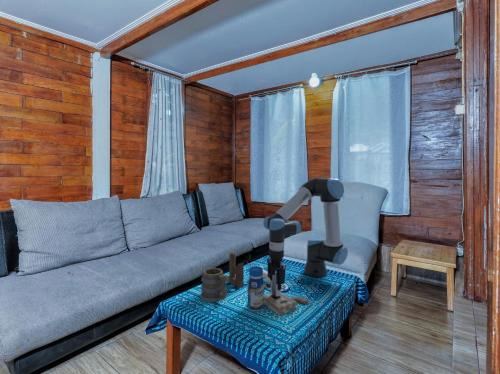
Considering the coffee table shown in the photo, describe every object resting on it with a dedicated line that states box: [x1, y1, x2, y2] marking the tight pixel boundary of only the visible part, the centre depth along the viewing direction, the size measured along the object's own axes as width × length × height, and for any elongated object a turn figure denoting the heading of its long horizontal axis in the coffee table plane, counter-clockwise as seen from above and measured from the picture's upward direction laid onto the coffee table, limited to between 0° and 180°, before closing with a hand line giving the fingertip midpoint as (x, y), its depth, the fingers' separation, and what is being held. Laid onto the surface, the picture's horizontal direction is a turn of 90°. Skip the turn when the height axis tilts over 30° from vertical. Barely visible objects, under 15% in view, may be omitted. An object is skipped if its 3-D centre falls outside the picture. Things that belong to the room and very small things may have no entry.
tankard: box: [199, 267, 229, 303], centre depth 144 cm, size 20×13×15 cm, turn 40°
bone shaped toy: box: [258, 265, 270, 285], centre depth 169 cm, size 15×9×8 cm, turn 41°
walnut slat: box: [290, 295, 310, 305], centre depth 143 cm, size 9×3×2 cm, turn 65°
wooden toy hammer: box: [227, 252, 245, 288], centre depth 163 cm, size 4×11×18 cm, turn 42°
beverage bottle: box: [246, 266, 265, 312], centre depth 136 cm, size 8×8×20 cm
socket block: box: [264, 292, 298, 316], centre depth 139 cm, size 11×14×4 cm
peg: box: [272, 273, 279, 299], centre depth 141 cm, size 4×4×14 cm
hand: (275, 293), depth 141 cm, fingers closed on peg, 3 cm apart
